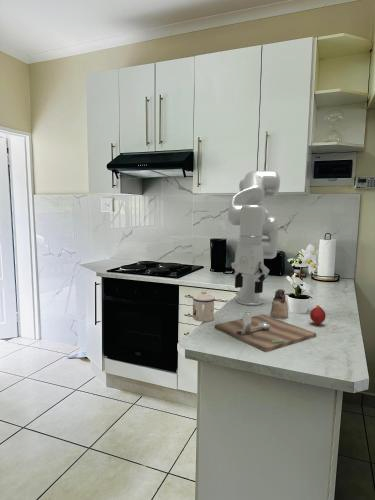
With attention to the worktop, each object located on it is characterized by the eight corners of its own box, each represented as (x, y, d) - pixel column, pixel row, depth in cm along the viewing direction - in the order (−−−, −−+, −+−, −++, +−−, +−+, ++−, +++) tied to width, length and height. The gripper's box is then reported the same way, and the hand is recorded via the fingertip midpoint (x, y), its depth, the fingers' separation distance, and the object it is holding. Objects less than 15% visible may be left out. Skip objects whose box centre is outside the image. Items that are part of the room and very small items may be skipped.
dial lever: (263, 325, 128) (264, 307, 127) (272, 328, 125) (273, 309, 124) (233, 332, 119) (234, 313, 119) (241, 336, 116) (242, 316, 115)
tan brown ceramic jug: (283, 313, 149) (284, 287, 148) (290, 318, 142) (292, 290, 141) (268, 314, 148) (269, 287, 146) (274, 319, 141) (276, 291, 139)
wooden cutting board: (262, 317, 143) (262, 313, 143) (316, 336, 122) (316, 332, 122) (214, 327, 129) (214, 324, 129) (265, 352, 107) (266, 347, 107)
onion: (312, 321, 139) (313, 302, 138) (326, 324, 136) (328, 304, 135) (307, 324, 135) (308, 305, 134) (322, 328, 131) (323, 308, 130)
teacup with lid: (192, 314, 144) (193, 288, 143) (214, 315, 144) (215, 288, 142) (190, 324, 133) (191, 294, 131) (214, 325, 132) (214, 295, 130)
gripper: (225, 239, 121) (223, 286, 123) (261, 243, 107) (258, 296, 109) (241, 239, 126) (239, 284, 127) (277, 242, 111) (274, 293, 113)
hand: (248, 290), depth 118 cm, fingers open, 9 cm apart
